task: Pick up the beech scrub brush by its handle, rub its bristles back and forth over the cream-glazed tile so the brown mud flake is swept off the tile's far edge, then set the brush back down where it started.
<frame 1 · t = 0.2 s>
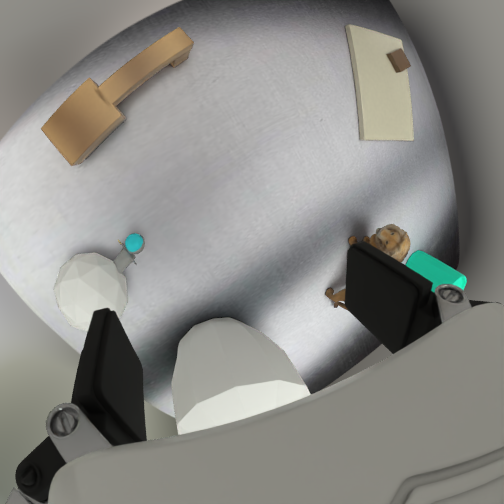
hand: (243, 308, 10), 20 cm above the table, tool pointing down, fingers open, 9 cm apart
vase: (217, 338, 35), on the table
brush: (92, 123, 21), on the table
mud flake: (396, 60, 26), point 1 cm above the table, touching tile
candle: (414, 265, 43), on the table
lion figurine: (347, 256, 37), on the table
perfume bottle: (108, 264, 27), on the table
tile: (381, 84, 28), on the table
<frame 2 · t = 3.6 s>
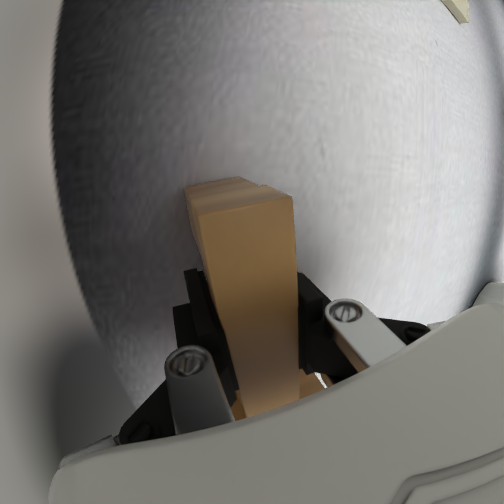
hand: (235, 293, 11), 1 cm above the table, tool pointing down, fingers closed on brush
vase: (475, 311, 25), on the table
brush: (250, 381, 15), on the table, touching gripper
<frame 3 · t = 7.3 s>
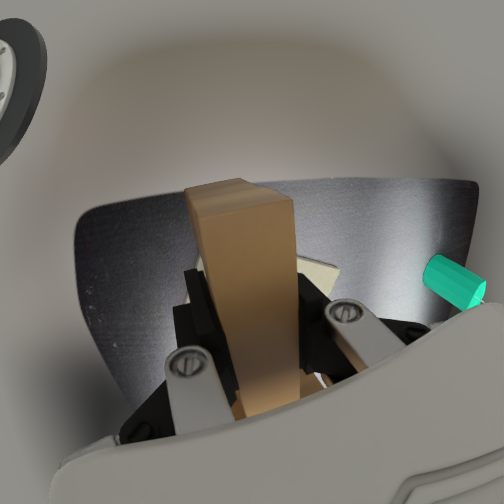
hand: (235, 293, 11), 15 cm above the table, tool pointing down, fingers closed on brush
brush: (250, 382, 15), point 14 cm above the table, touching gripper
candle: (432, 269, 39), on the table
tile: (262, 292, 30), on the table
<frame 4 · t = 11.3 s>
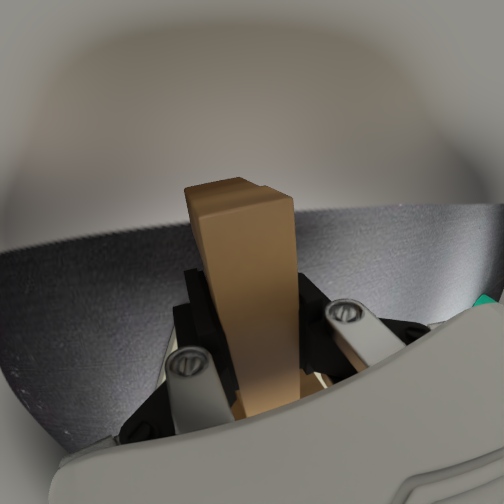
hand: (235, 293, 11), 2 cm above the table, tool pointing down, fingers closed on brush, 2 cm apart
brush: (250, 381, 15), point 1 cm above the table, touching gripper, mud flake
tile: (276, 381, 17), on the table
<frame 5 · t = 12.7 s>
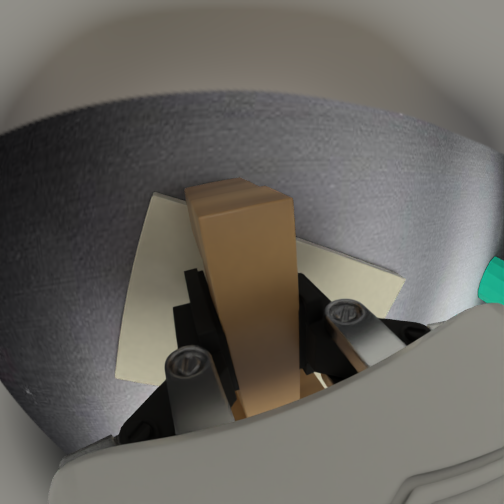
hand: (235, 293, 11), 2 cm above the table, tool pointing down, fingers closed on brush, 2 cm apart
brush: (250, 381, 15), point 1 cm above the table, touching gripper
candle: (487, 276, 25), on the table
tile: (272, 322, 15), on the table
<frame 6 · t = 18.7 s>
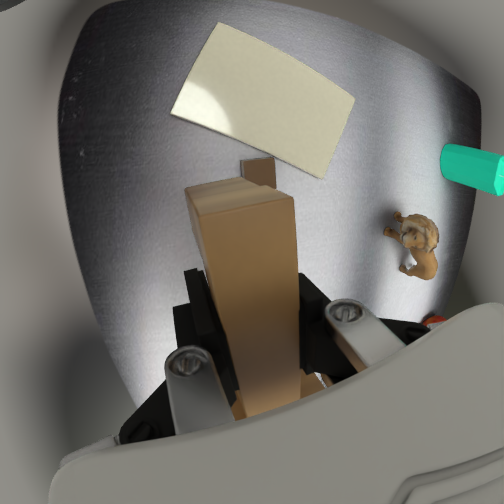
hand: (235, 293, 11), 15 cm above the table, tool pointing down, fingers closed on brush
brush: (250, 381, 15), point 15 cm above the table, touching gripper
mud flake: (256, 173, 25), on the table
candle: (448, 161, 33), on the table
fruit: (423, 323, 48), on the table
lion figurine: (394, 238, 35), on the table
tile: (271, 100, 23), on the table
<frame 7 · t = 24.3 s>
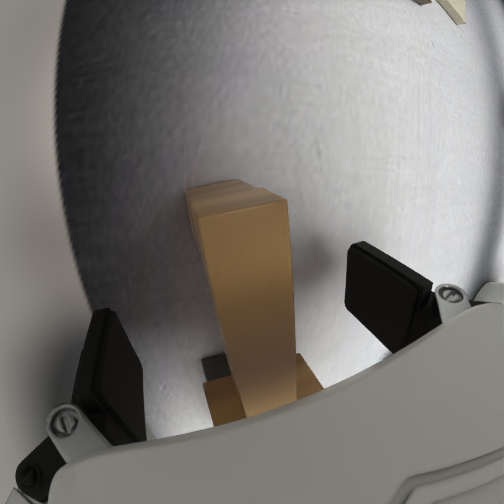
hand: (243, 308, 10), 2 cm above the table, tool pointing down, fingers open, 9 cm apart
vase: (473, 310, 25), on the table
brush: (249, 379, 15), on the table
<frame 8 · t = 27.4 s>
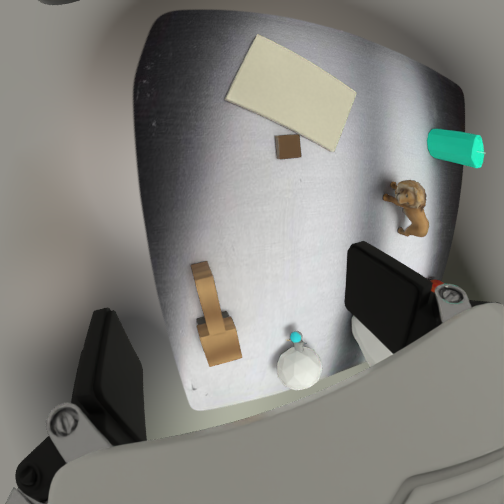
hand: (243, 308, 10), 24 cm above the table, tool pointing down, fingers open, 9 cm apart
vase: (367, 309, 50), on the table
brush: (215, 328, 40), on the table
mud flake: (286, 146, 33), on the table
candle: (434, 143, 40), on the table
fruit: (423, 287, 55), on the table
lion figurine: (391, 204, 42), on the table
perfume bottle: (290, 346, 47), on the table
tile: (295, 93, 30), on the table
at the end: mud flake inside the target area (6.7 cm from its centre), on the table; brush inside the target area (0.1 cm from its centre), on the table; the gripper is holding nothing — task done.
